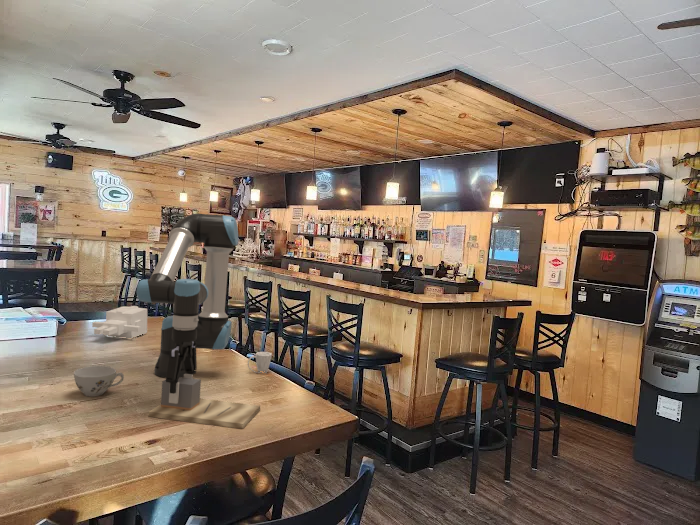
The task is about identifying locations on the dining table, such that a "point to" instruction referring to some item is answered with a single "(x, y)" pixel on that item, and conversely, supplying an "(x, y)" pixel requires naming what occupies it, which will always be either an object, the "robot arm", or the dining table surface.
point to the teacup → (96, 379)
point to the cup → (262, 361)
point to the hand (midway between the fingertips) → (180, 398)
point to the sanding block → (182, 394)
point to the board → (211, 413)
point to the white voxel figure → (123, 322)
